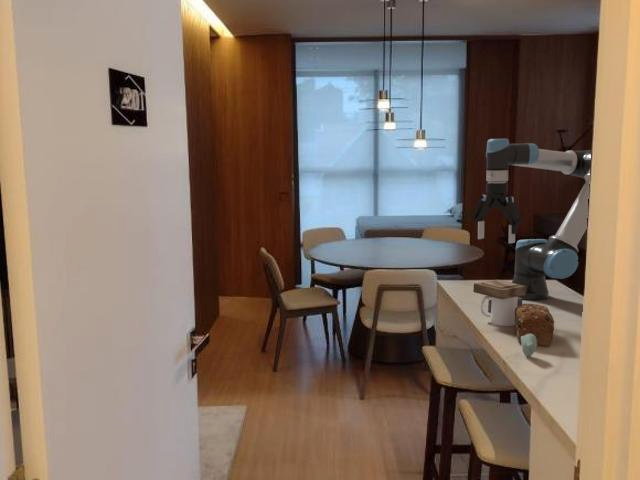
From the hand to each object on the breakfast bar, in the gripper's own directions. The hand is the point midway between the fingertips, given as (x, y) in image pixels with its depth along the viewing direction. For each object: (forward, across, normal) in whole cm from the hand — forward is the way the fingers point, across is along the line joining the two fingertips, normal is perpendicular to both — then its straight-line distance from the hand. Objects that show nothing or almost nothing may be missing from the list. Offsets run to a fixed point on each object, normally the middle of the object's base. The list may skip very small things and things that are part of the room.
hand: (495, 240), depth 220 cm
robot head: (+25, +40, -36) cm, 59 cm away
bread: (+25, +29, -19) cm, 43 cm away
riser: (+25, +5, -1) cm, 26 cm away
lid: (+15, +13, -14) cm, 24 cm away
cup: (+25, +12, -15) cm, 32 cm away
